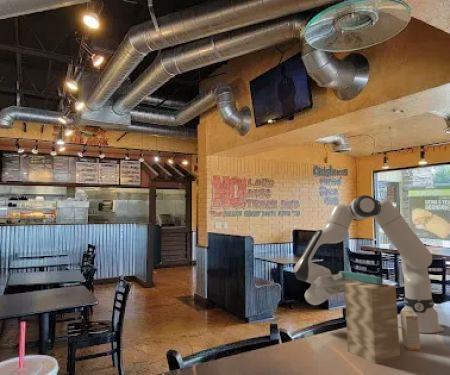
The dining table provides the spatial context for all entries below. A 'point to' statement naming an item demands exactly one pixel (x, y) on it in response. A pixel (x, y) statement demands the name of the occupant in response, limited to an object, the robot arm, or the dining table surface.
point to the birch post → (372, 321)
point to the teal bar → (362, 277)
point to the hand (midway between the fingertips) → (346, 273)
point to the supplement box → (410, 330)
